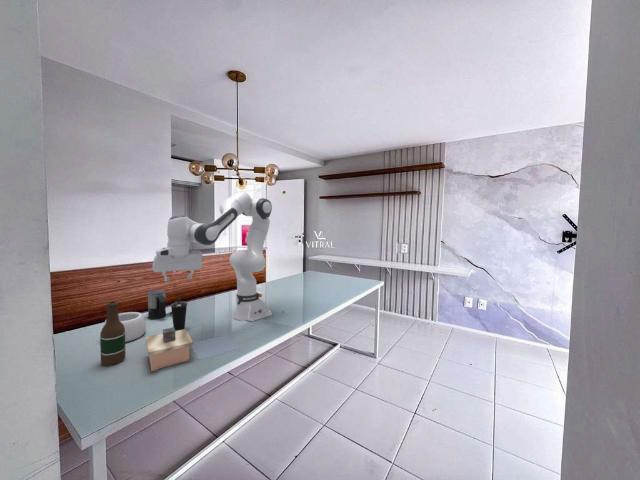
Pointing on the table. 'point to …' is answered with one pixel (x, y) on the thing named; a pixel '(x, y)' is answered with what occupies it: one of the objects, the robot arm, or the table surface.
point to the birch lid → (168, 341)
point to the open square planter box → (168, 358)
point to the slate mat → (213, 346)
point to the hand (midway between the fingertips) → (178, 279)
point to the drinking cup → (179, 314)
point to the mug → (132, 325)
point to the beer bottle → (112, 337)
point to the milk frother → (157, 304)
